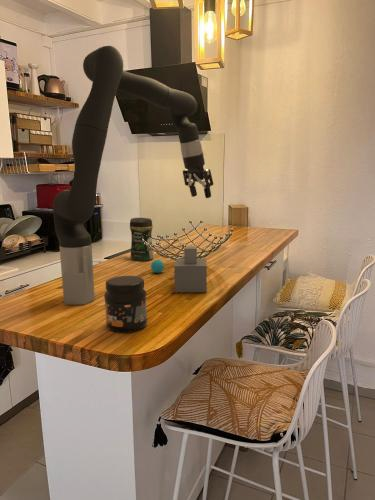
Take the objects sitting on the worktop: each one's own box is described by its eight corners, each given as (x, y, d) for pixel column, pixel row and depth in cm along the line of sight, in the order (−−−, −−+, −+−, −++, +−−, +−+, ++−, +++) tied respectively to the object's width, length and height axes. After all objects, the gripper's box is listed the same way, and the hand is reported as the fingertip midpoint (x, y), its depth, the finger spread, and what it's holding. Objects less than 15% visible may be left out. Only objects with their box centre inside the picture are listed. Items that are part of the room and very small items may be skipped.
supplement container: (97, 325, 101) (95, 280, 98) (131, 315, 108) (129, 272, 106) (122, 337, 93) (119, 289, 91) (156, 325, 101) (154, 280, 98)
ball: (163, 274, 149) (163, 261, 148) (150, 274, 149) (150, 261, 148) (164, 271, 154) (164, 258, 153) (151, 271, 154) (151, 258, 153)
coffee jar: (128, 260, 173) (126, 218, 169) (138, 256, 180) (136, 216, 176) (146, 262, 169) (145, 219, 165) (156, 258, 176) (155, 217, 172)
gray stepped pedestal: (206, 292, 127) (206, 250, 124) (174, 292, 127) (174, 250, 124) (205, 283, 137) (205, 244, 134) (176, 283, 137) (175, 244, 134)
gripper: (173, 156, 146) (182, 198, 152) (196, 156, 135) (205, 201, 140) (188, 151, 150) (197, 192, 155) (212, 150, 139) (221, 194, 144)
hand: (201, 196), depth 148 cm, fingers open, 8 cm apart
